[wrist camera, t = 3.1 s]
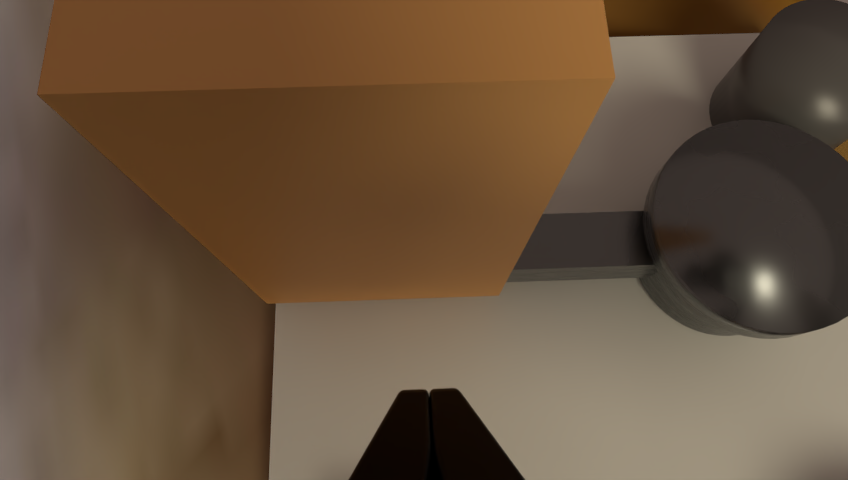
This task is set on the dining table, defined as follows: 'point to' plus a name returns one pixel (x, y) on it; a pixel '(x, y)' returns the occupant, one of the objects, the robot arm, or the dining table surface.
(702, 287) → the brown piece
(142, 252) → the dining table surface
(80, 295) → the dining table surface
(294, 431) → the base plate
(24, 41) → the dining table surface
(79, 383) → the dining table surface
